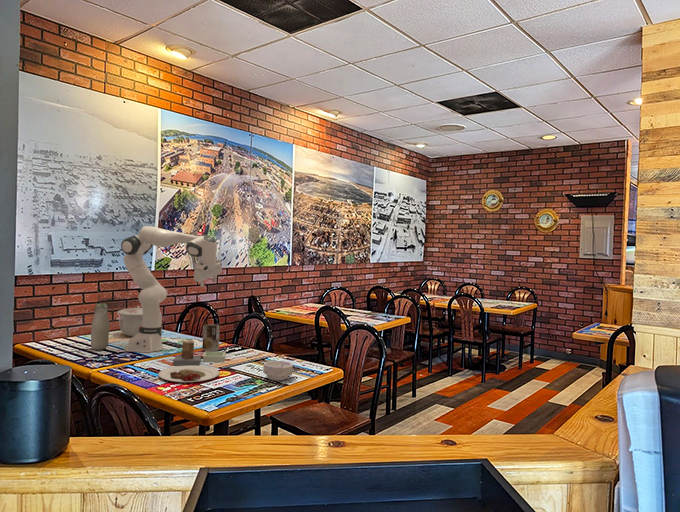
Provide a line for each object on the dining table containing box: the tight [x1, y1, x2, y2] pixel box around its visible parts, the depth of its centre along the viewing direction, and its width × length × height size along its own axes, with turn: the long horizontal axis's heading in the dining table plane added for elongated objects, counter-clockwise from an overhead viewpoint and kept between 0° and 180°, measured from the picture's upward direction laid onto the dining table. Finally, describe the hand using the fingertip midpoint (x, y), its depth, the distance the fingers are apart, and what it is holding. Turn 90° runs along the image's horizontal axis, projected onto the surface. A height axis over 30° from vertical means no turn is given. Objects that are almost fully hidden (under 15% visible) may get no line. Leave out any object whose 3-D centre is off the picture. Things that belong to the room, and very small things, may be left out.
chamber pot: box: [116, 305, 143, 338], centre depth 344 cm, size 28×28×21 cm
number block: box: [181, 339, 195, 360], centre depth 276 cm, size 4×5×10 cm
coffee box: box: [201, 323, 221, 352], centre depth 311 cm, size 9×6×16 cm
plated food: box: [157, 365, 220, 384], centre depth 253 cm, size 30×30×3 cm
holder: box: [202, 351, 226, 363], centre depth 289 cm, size 12×12×3 cm
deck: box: [172, 355, 202, 367], centre depth 276 cm, size 14×10×3 cm
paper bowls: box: [263, 360, 294, 382], centre depth 257 cm, size 15×15×8 cm
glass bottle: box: [90, 303, 111, 351], centre depth 297 cm, size 10×10×28 cm
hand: (208, 283), depth 300 cm, fingers open, 8 cm apart
